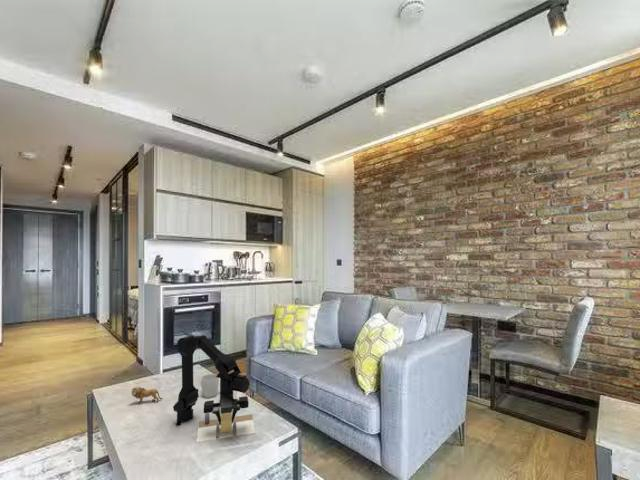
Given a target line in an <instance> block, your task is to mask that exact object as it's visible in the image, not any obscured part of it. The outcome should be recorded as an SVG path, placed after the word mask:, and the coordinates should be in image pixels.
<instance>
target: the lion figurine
mask: <svg viewBox="0 0 640 480" xmlns="http://www.w3.org/2000/svg"><path fill="white" fill-rule="evenodd" d="M131 396H133V397H134V398H136V399H139V402H138V405H140V406H141V405H142V404H143V399H144V398H149V397H152V399H151V401H152V402H153V401H154V402H155V403H156V404H158V403H159V401H160V400H161V401H162V400H163V398H162V397H161V396H160V394H159V391H158V390H157V389H156V388H151V389H146V388H144V387H140V386H134V387H133V388H132V389H131ZM155 400H156V401H155Z"/></svg>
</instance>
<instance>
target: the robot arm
mask: <svg viewBox="0 0 640 480" xmlns="http://www.w3.org/2000/svg"><path fill="white" fill-rule="evenodd" d="M176 345H177V351H178V353H179V355H180V357H181V388H180V391H179V393H178V396H177V397H178V398H177V402H175V404H174V405H172V407H173V411H174V412H176V423H175V425H176V426H181V425H182V423H186V422H188V421H191V420H193V419H194V409H193V406H195V405H196V403H197V402H198V401H199V400H198V399H199V398H200V396H199V388H196V387H195V385H194V353H195V351H196V349H197V347H198V348H199V349H200V350H201V351H202V352H203V353H205V355H206V356H207V357H208V358H209V359H210V360H212V362H213V363H214V367H215V370H217V372H218V373H217V374H216V375H217V376H216V377H218V378H219V402H215V400H214V399H213V400H206V401H205V402H204V404H203V414H207V413H209V414H211V413H212V415H215V417H216V419H218V421H219V425H221V414H224V413H231V412H232V424H233V421H234V418H235V417H236V416H237V415H236V414H237V413H238V411H241V410H242V409H247V408H249V397H248V396H247V395H246V396H239V397H238V398H237V399H234V398H233V390H234V391H237V393H238V392H239V393H243V394H245V393H247V391H249V388H250V384H251V383H250V380H249V378H248V377H247V375H246V374H241V373H242V372H241V370H240V368H239V366H238V364H237V362H236V360H235V358H234V357H232V356H231V355H229V354H226V353H223V352H222V351H221V350H220V349H218V348H217V347H216V346H215V345H214V344H213V343H212V342H211V341H210V340H209V339H208V337H207V336H206V335H205V334H201V335H193V334H190V335H187V336H183V337H180V338H178V340H177V342H176Z"/></svg>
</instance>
